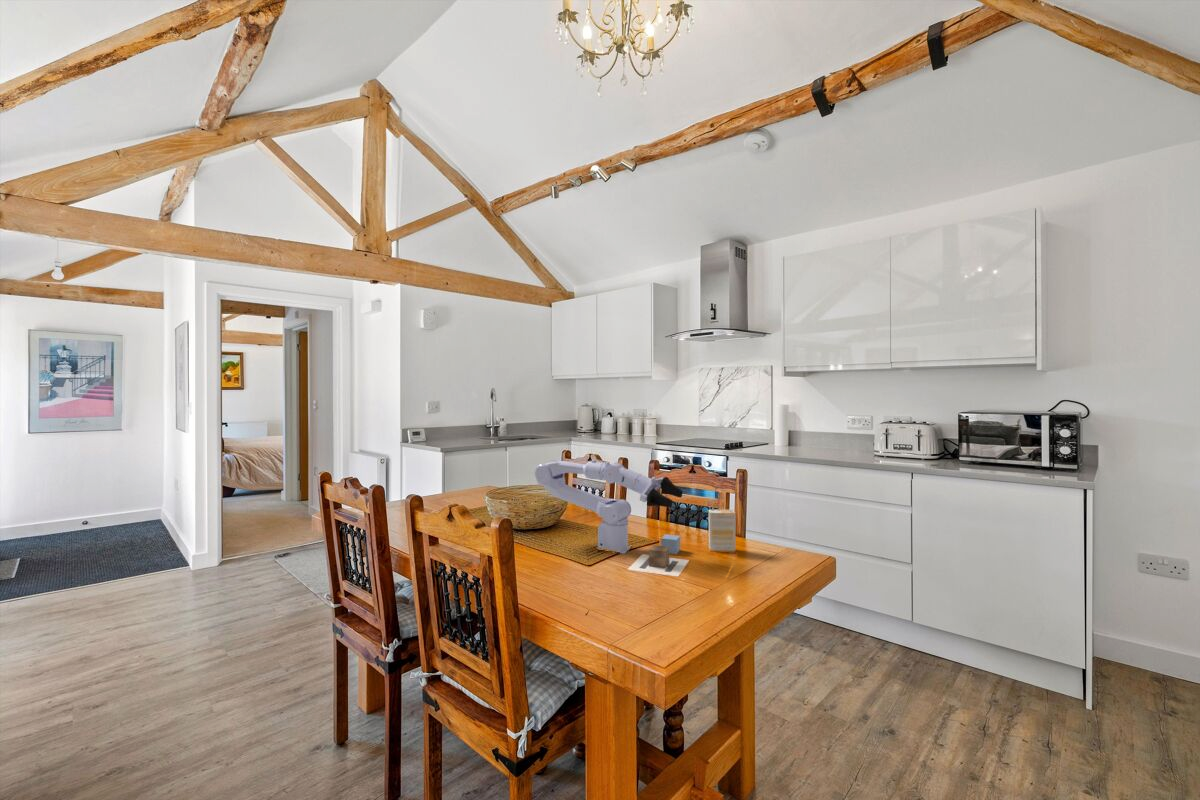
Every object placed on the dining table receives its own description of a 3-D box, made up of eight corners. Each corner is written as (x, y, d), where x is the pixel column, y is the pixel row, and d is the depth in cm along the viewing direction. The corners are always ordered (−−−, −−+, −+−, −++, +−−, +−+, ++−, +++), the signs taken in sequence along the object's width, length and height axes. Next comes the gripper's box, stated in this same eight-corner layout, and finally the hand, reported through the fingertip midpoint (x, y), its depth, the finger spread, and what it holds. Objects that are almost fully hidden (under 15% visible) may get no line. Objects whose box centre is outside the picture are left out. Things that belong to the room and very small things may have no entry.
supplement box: (733, 548, 180) (733, 509, 179) (735, 553, 175) (736, 512, 174) (707, 547, 180) (708, 508, 180) (709, 552, 176) (709, 512, 175)
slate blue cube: (661, 553, 174) (661, 538, 174) (664, 549, 179) (665, 534, 179) (676, 555, 172) (676, 540, 172) (679, 551, 177) (680, 535, 177)
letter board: (627, 570, 158) (627, 569, 158) (642, 555, 172) (642, 554, 172) (678, 577, 153) (678, 576, 153) (689, 561, 167) (689, 560, 167)
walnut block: (648, 566, 161) (648, 549, 161) (653, 561, 166) (653, 544, 166) (665, 568, 159) (665, 551, 159) (669, 563, 164) (669, 546, 164)
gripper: (629, 480, 166) (669, 497, 160) (650, 464, 178) (688, 479, 172) (625, 500, 169) (665, 517, 163) (646, 482, 181) (684, 498, 175)
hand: (677, 499), depth 168 cm, fingers open, 7 cm apart
